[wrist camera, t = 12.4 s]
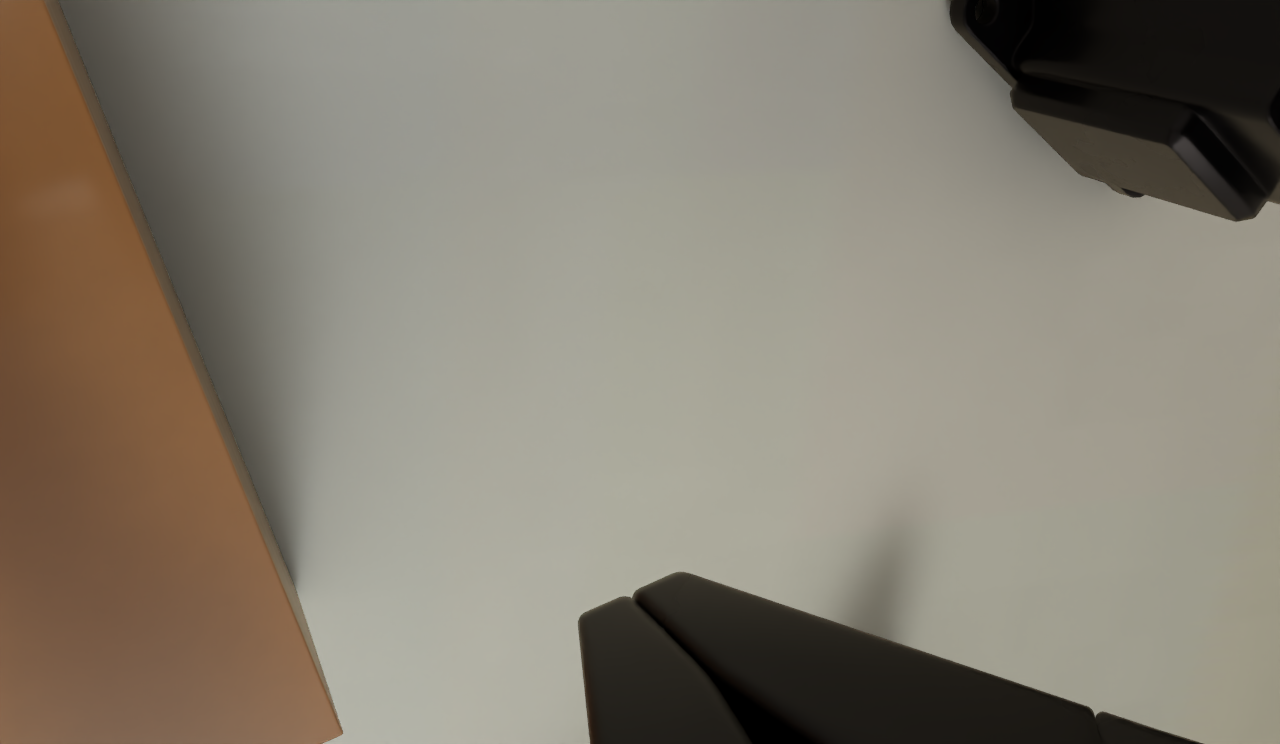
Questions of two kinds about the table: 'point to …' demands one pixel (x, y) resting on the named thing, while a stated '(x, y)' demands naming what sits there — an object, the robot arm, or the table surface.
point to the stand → (120, 459)
